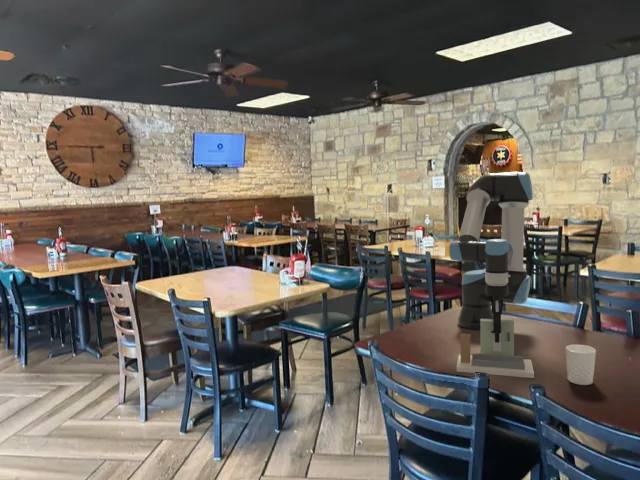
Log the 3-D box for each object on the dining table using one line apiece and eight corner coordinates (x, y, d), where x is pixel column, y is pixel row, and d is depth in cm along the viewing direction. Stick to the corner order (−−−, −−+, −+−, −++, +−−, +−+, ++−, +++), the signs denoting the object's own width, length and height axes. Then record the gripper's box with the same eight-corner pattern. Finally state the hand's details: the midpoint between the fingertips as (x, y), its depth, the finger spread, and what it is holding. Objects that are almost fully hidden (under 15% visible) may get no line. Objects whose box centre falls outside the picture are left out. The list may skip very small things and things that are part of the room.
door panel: (480, 355, 171) (480, 321, 170) (480, 351, 175) (480, 318, 174) (513, 357, 168) (514, 323, 166) (513, 353, 171) (513, 320, 170)
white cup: (594, 388, 141) (595, 354, 140) (564, 383, 145) (564, 350, 144) (595, 378, 148) (596, 346, 146) (566, 374, 152) (567, 343, 151)
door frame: (456, 371, 157) (456, 340, 156) (458, 358, 168) (458, 329, 167) (534, 378, 150) (534, 345, 148) (530, 364, 161) (531, 333, 160)
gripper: (509, 288, 160) (509, 357, 163) (507, 279, 175) (507, 342, 178) (485, 288, 163) (485, 355, 165) (485, 279, 178) (485, 341, 180)
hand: (496, 348), depth 172 cm, fingers closed on door panel, 3 cm apart
